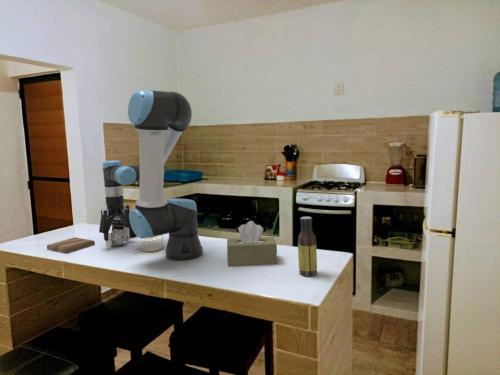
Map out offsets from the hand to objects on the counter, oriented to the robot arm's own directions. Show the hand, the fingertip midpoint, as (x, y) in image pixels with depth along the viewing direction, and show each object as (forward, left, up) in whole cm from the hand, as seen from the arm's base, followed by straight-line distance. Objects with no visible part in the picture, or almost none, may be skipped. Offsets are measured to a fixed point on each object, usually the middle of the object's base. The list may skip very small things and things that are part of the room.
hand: (118, 244), depth 169 cm
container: (+10, -13, -1) cm, 16 cm away
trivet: (+18, +11, -1) cm, 21 cm away
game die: (0, 0, -1) cm, 1 cm away
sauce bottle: (-89, -5, -1) cm, 89 cm away
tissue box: (-65, -8, -1) cm, 65 cm away
